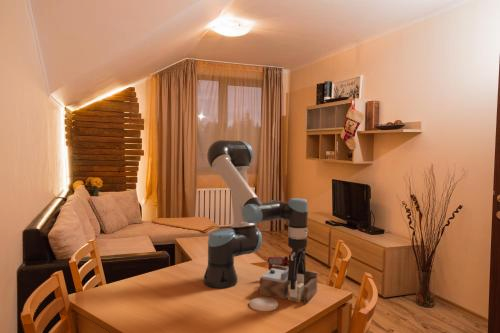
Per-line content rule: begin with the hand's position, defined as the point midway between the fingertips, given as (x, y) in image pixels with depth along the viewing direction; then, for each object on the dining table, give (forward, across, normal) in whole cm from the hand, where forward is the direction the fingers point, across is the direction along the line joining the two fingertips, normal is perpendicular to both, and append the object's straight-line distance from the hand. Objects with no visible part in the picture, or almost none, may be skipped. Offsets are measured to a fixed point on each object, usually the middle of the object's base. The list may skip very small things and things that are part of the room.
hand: (296, 293), depth 148 cm
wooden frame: (+2, +5, +5) cm, 7 cm away
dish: (+2, -12, +9) cm, 15 cm away
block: (+3, 0, 0) cm, 3 cm away
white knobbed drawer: (-4, +4, +10) cm, 11 cm away
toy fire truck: (+2, +19, +14) cm, 24 cm away
